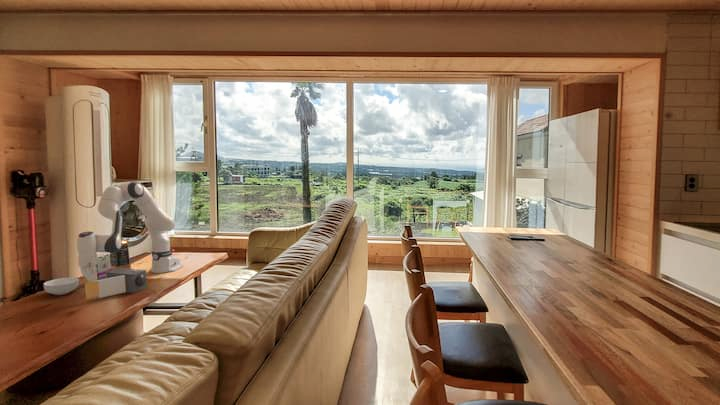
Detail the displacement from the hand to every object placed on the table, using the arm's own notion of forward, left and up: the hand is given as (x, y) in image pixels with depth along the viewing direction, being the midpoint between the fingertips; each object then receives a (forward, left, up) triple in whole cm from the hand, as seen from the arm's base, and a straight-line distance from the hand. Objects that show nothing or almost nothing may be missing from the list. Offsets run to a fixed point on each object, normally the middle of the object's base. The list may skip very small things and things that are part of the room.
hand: (89, 285), depth 228 cm
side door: (-5, +6, -7) cm, 11 cm away
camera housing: (-20, +5, -8) cm, 22 cm away
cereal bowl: (-4, -26, -8) cm, 27 cm away
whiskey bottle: (-51, -32, -8) cm, 60 cm away
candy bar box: (-29, -24, -8) cm, 38 cm away
